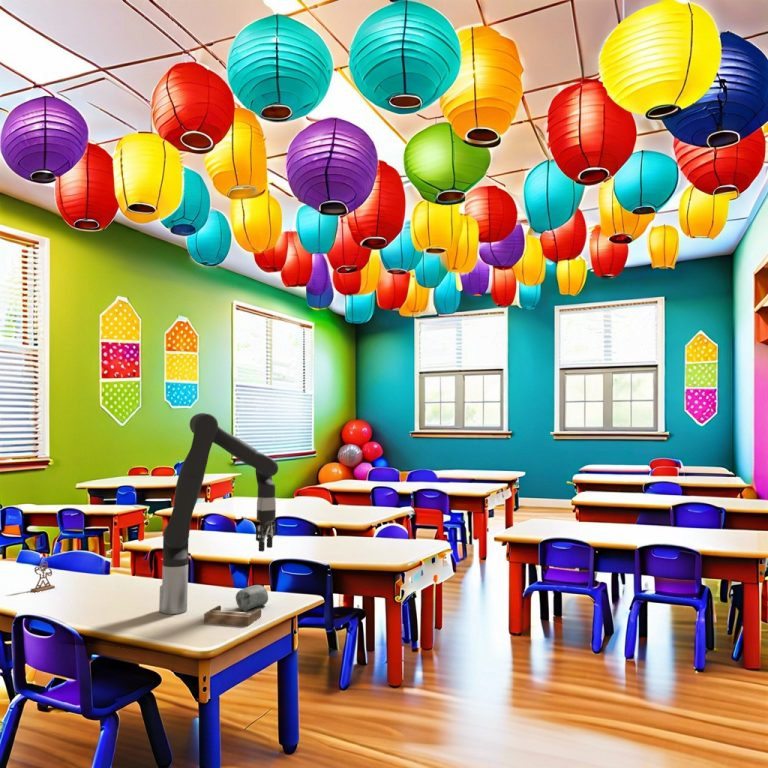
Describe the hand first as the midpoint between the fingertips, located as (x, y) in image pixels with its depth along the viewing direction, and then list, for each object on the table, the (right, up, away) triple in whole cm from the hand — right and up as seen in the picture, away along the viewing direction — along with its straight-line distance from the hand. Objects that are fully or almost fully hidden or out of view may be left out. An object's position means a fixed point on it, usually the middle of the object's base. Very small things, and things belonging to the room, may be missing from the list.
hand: (265, 549), depth 274 cm
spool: (-3, -20, -13) cm, 23 cm away
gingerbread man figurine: (-96, -20, +12) cm, 99 cm away
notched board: (-7, -18, -29) cm, 35 cm away
